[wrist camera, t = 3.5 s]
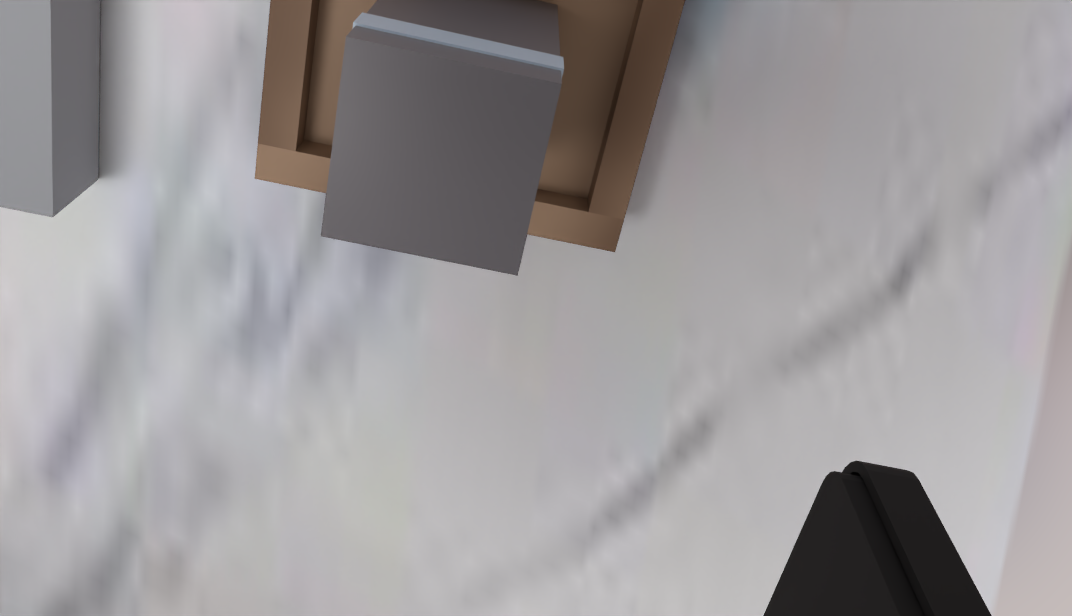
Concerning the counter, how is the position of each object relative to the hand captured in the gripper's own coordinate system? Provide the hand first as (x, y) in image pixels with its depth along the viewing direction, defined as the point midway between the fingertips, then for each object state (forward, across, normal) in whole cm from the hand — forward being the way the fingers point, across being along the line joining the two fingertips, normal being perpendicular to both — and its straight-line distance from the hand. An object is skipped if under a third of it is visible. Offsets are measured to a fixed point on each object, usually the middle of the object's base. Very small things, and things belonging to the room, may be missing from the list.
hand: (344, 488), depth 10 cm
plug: (+18, 0, 0) cm, 18 cm away
